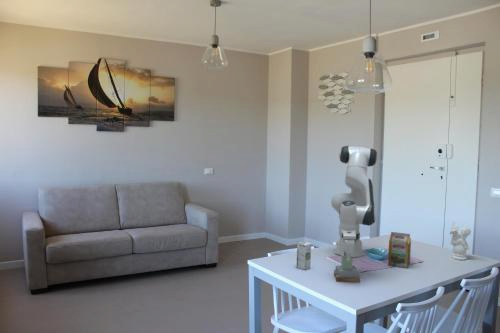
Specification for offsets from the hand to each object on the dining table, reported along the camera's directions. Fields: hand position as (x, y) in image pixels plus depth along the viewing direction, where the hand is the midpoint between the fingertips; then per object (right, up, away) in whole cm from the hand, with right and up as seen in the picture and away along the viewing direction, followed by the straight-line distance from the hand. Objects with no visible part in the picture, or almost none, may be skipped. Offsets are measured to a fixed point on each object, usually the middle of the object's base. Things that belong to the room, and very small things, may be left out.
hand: (346, 258), depth 234 cm
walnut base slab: (0, -12, +1) cm, 12 cm away
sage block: (0, -6, 0) cm, 6 cm away
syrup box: (-21, -10, +17) cm, 29 cm away
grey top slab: (0, -9, 0) cm, 9 cm away
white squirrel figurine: (+77, -9, +40) cm, 87 cm away
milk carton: (+36, -10, +26) cm, 45 cm away
